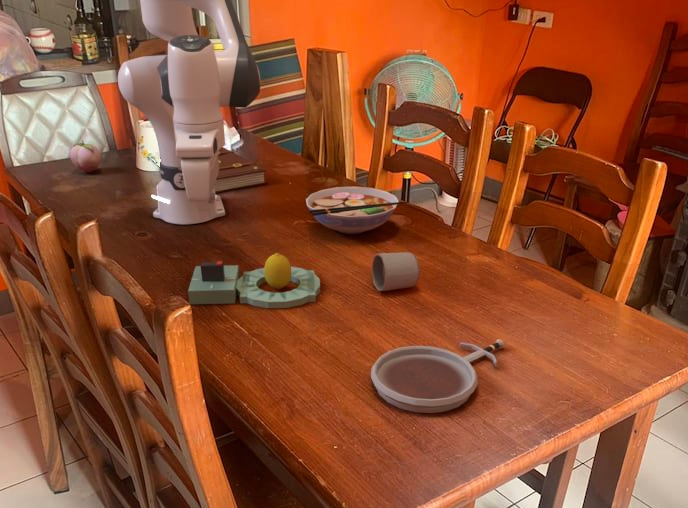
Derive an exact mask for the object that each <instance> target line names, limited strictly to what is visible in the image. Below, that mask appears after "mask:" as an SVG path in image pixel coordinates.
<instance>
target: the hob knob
mask: <svg viewBox="0 0 688 508" xmlns="http://www.w3.org/2000/svg"><path fill="white" fill-rule="evenodd" d="M200 266H201V275H202V281H224V279H225V273H224V266H225V264H224V262H223V260H217V261H206V262H205V261H204V262H203V261H202V262H200Z"/></svg>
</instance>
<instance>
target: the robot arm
mask: <svg viewBox="0 0 688 508" xmlns="http://www.w3.org/2000/svg"><path fill="white" fill-rule="evenodd" d="M139 3H140V11H141V19H142V24H143V26H144V27H145V29H146V30H147V31H148V33H151V35H154V36H155V37H157V38H158V39H161V40H163V41H166V42H168V43H167V54H161V55H149V56H147V55H146V56H140V57H136V58H132V59H129V60H126V61H124V62H123V63H122V64H121V66H120V68H119V70H118V75H117V84H118V89H119V92H120V94H121V95H122V97H123V98H124V100H125V101H126V102H127V103H128V104H130V105H131V106H133V107H134V108H136V109H137V110H138V111H140V112H141V113H142V114H143V115H144V116H145V117H146V118H147V120H148V121H149V122H150V125H151V126H152V128H153V130H154V132H155V137H156V141H157V146H158V151H159V152H158V153H159V157H160V159H161V162H160V167H159V166H157V167H158V169H159V173H160V178H161V180H160V181H159V182H158V184H157V185H156V195H155V194H151V198H152V199H154V200H157V208H156V209H155V210H154V211H153V212H152V216H153V218H156V219H161V220H162V221H164V222H166V223H169V224H174V225H194V224H200V223H205V222H209V221H211V220H214V219H216V218H220V217H224V216H226V210H225V207H224V203H223V201H222V198H221V196H220V195H218V194H216V193H215V181H216V178H217V175H218V172H219V160H218V155H219V149H220V148H221V147H223V148H224V147H225V146H226V137H225V124H224V115H223V112H222V110H221V108H224V107H229V108H241V109H242V108H243V109H244V108H245V109H246V108H247V107H249V106H250V105H251V104H252V103H253V102H254V101H255V100H256V99H257V98H258V96H259V95H260V92H261V74H260V70H259V66H258V64H257V62H256V59H255V57H254V56H253V55H254V54H253V53H252V51H251V49H250V46H249V45H248V42H247V40H246V37H245V34H244V31H243V28H242V25H241V23H240V21H239V20H240V19H239V18H238V14H237V12H236V9H235V6H234V3H233V0H139ZM192 9H195V10H197V11H200V12H202V13H203V14H206V15H207V16H208V17H209V18H210V19H211V20H212V21H213V23H214V26H215V29H216V31H217V33H218V36H219V39H220V42H221V45H222V48H223V50H216V51H215V48H214V44H213V42H212V40H211V39H209V38H208V37H205V36H201V35H199V34H198V32H197V29H196V26H195V23H194V17H193V10H192Z"/></svg>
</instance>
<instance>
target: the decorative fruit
mask: <svg viewBox="0 0 688 508" xmlns="http://www.w3.org/2000/svg"><path fill="white" fill-rule="evenodd" d="M69 158H70V161H71V162H72V163H73V165H74V166H75V167H76V168H78V169H79V170H80V171H83V172H84V173H87V174H91V172H93V171H96V170H97V168H98V167H99V166H100V164H101V159H102V154H101V151H100V149H99V148H98V147H97V146H95V145H94V144H92V143H84V139H83V140H81V142H77V143H74V144H73V145H72V148H71V150H70V152H69Z"/></svg>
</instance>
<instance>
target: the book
mask: <svg viewBox="0 0 688 508" xmlns="http://www.w3.org/2000/svg"><path fill="white" fill-rule="evenodd" d="M218 160H219V172H218V175H217V178H216V181H215V194H217V193H222V192H226V191H233V190H238V189H239V190H240V189H244V188H250V187H255V186H260V185H265V184H267V181H265V175H264V174H265V172H267V169H265V168H264V167H262V166H260V165H259V164H257V163H255V162H253V161H250V160H248V159H246V158H244V157H242V156H241V155H238V154H237V153H236V152H234V151H232V150H229V149H227V148H225V147H224V146H223V147H221V148H220V149H219V155H218Z"/></svg>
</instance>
